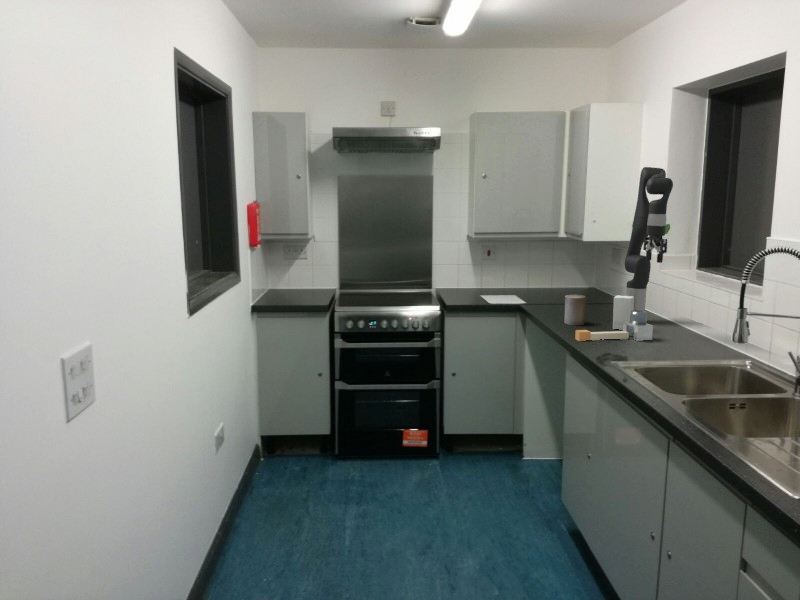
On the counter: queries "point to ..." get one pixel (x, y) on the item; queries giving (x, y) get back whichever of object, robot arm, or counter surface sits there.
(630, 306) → the skincare box
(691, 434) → the counter surface
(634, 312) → the grey box with ball
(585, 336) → the plug rod
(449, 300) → the counter surface
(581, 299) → the pillar candle
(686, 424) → the counter surface
